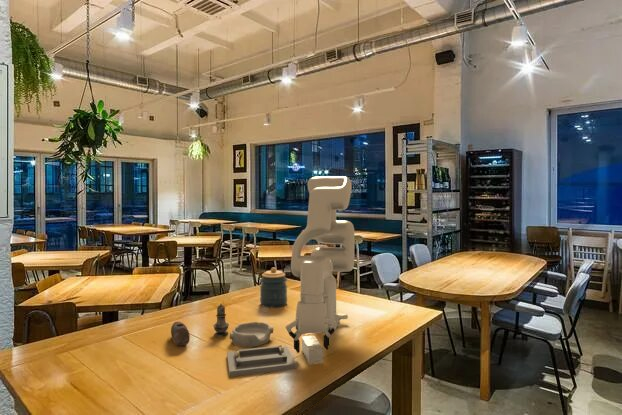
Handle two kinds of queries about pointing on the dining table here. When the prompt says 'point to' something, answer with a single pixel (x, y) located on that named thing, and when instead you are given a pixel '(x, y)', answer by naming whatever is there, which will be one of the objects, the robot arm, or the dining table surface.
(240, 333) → the dish
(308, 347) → the aluminium bar
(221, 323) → the dark grey chess piece
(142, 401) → the dining table surface
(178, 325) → the perforated stone tool
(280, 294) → the canister
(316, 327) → the robot arm
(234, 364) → the switch frame
